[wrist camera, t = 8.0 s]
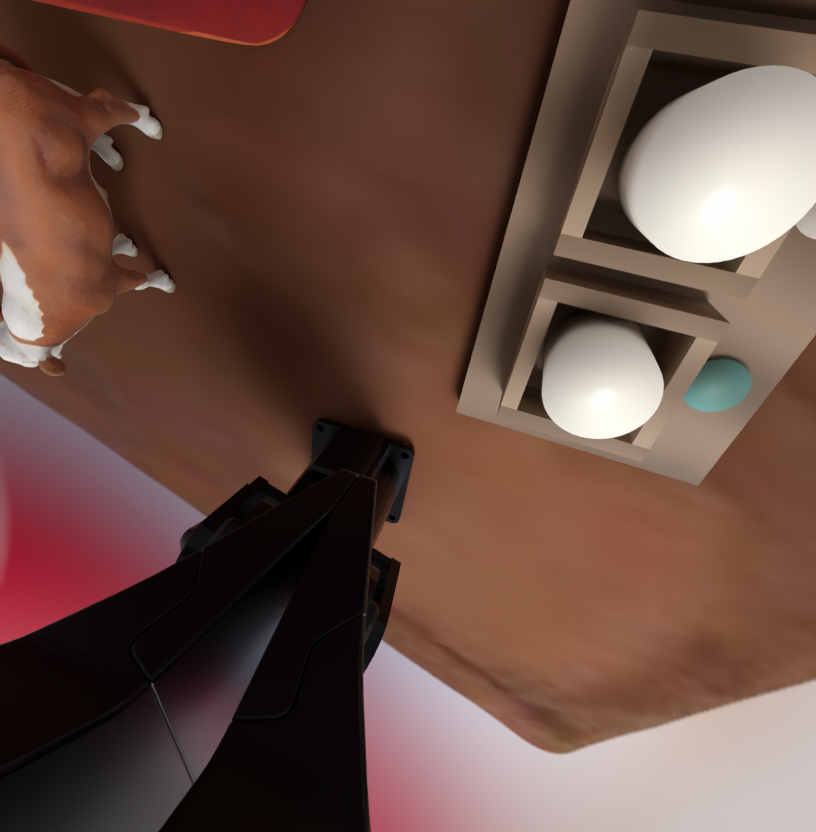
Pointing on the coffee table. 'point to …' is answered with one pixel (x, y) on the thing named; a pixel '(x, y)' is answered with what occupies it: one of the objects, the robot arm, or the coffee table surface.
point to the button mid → (724, 165)
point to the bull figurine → (58, 213)
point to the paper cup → (202, 16)
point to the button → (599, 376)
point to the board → (643, 237)
